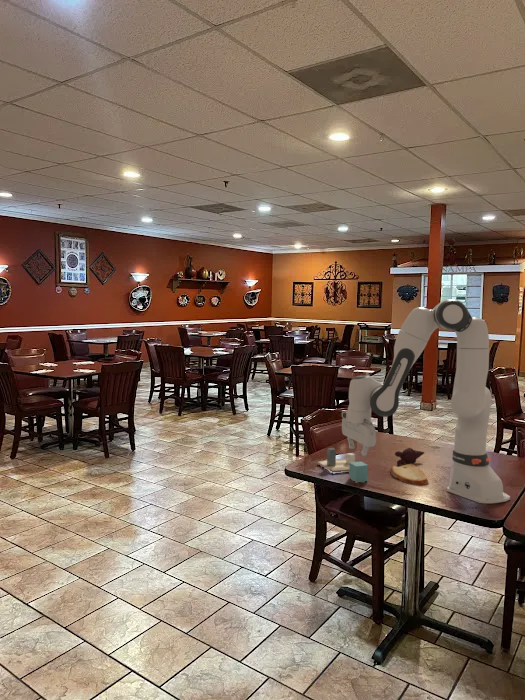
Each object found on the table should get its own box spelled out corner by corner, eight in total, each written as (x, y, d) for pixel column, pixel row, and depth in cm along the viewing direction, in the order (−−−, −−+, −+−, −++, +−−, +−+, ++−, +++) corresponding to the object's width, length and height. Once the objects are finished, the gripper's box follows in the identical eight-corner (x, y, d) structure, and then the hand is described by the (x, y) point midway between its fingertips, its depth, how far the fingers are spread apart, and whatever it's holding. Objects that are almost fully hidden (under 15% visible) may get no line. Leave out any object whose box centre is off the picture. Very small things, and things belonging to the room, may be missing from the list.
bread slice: (426, 487, 206) (426, 478, 206) (380, 479, 216) (380, 470, 216) (439, 475, 221) (439, 466, 221) (395, 468, 231) (396, 459, 231)
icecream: (417, 444, 244) (389, 450, 238) (427, 444, 237) (399, 450, 231) (420, 460, 243) (392, 466, 237) (431, 460, 236) (402, 467, 230)
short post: (354, 463, 230) (354, 454, 230) (349, 464, 229) (349, 455, 229) (351, 462, 232) (351, 452, 232) (346, 462, 231) (346, 453, 231)
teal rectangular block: (367, 481, 211) (368, 465, 211) (355, 483, 209) (356, 466, 209) (360, 477, 216) (361, 461, 216) (349, 479, 214) (349, 462, 214)
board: (365, 470, 225) (365, 467, 225) (332, 474, 220) (332, 470, 220) (348, 461, 238) (348, 458, 238) (317, 464, 233) (317, 461, 233)
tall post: (335, 465, 227) (335, 449, 226) (329, 466, 226) (330, 449, 225) (332, 464, 229) (332, 447, 229) (327, 464, 228) (327, 448, 228)
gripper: (381, 422, 202) (379, 458, 203) (353, 411, 221) (351, 444, 223) (366, 423, 200) (364, 460, 201) (339, 411, 219) (338, 445, 220)
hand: (357, 451), depth 212 cm, fingers open, 8 cm apart
